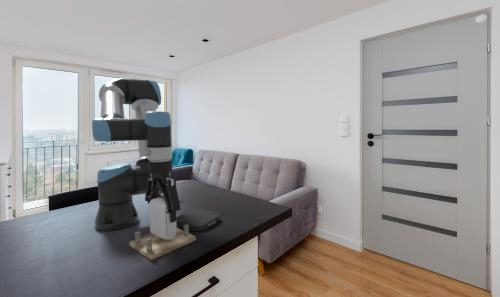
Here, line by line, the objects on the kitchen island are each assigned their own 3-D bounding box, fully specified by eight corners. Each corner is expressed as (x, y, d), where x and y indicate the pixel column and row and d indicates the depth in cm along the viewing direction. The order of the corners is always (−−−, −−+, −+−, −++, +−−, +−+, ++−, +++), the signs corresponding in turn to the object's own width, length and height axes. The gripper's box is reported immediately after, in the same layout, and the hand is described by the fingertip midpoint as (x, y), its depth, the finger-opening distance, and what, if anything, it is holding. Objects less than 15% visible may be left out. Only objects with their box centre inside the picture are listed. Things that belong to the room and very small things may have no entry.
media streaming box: (195, 213, 107) (195, 207, 107) (223, 219, 100) (222, 212, 100) (170, 226, 94) (170, 218, 94) (200, 233, 87) (200, 225, 87)
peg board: (129, 245, 79) (128, 231, 78) (172, 228, 91) (172, 216, 90) (150, 260, 70) (150, 244, 69) (196, 240, 82) (195, 226, 81)
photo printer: (148, 233, 81) (146, 197, 80) (159, 228, 85) (158, 194, 84) (166, 242, 75) (165, 203, 74) (178, 236, 79) (176, 199, 77)
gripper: (131, 158, 82) (135, 221, 84) (168, 165, 67) (171, 241, 70) (152, 156, 88) (155, 215, 90) (191, 162, 73) (193, 232, 75)
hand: (162, 226), depth 80 cm, fingers closed on photo printer, 10 cm apart
